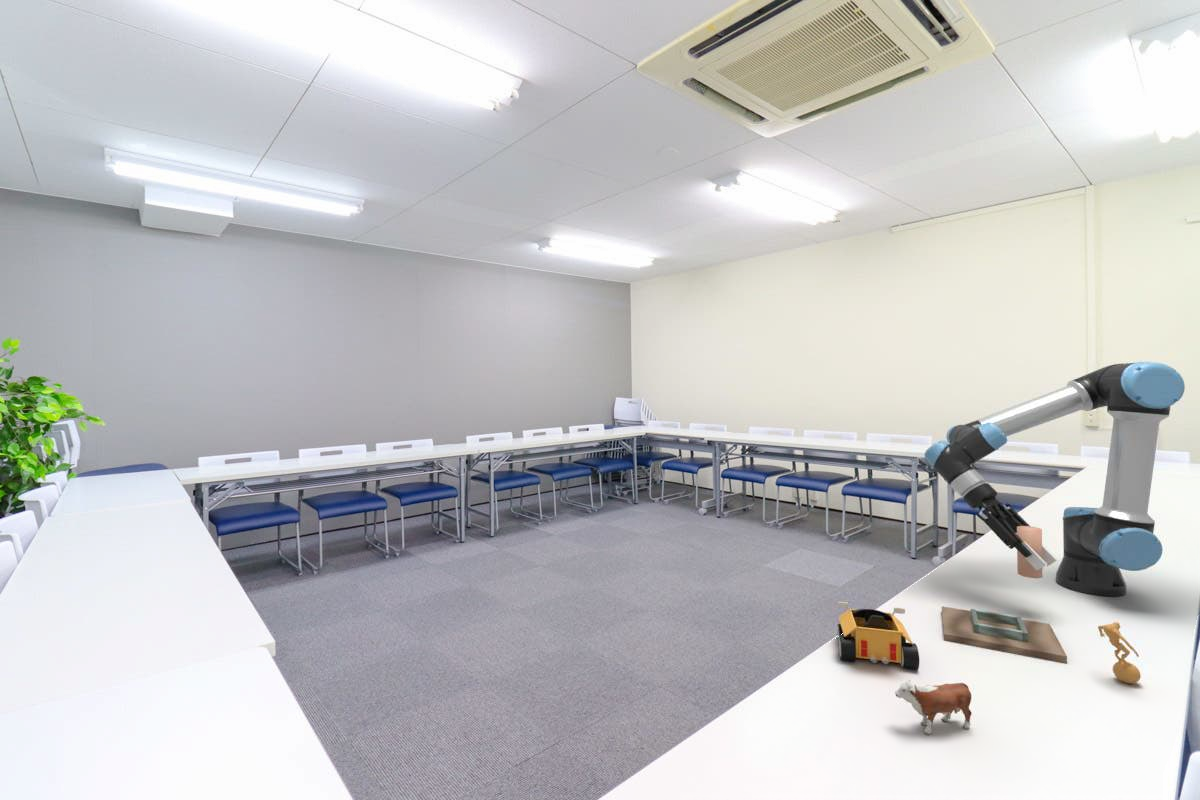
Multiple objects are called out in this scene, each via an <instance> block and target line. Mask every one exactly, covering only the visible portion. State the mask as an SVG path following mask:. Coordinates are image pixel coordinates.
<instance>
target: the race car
mask: <svg viewBox="0 0 1200 800" xmlns="http://www.w3.org/2000/svg"><path fill="white" fill-rule="evenodd" d="M837 607H838V608H841V609H847V610H846V611H845V612H844V613H842V614H841V615H839V616H838V620H839V623H837V640H838V655H839V658H840V660H841V661H847V662H856V659H857V658H859V659H866V660H870V661H871V662H872V663H877V662H878V661H882V663H883V664H885V665H887V664H889V663H891V662H892V663H897V664H898V663H899V664H900V665H901V667H902V669H911V670H919V668H920V654H919V649H918V646H917V644H916V643H914V642H913V641H912V639H911V637H910V635H909V633H908V632H907V629H906V628H905V625H904V624H903V622H901V621H900V620H899V619H898V618H897V617H896V616H895V614H898V615H899V614H900V615H904V614H905V613H906V609H905V608H904V607H893V612H885V611H881V610H878V609H872V608H859V609H856V608H855V609H854V608H853V609H852V608H850V607H849V602H845V601H838V602H837ZM842 633H843V634H842ZM841 634H842V635H841ZM838 636H839V637H838Z"/></svg>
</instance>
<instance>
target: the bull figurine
mask: <svg viewBox="0 0 1200 800" xmlns="http://www.w3.org/2000/svg"><path fill="white" fill-rule="evenodd" d="M894 691H895V692H894V695H895V696H896V698H897V699H904V700H905V702H907V703H909V704H911V706H912V709H914V711H916V712H917V713H918V714H919V715H921V716H922V720H921V722H920V725H922V726H925V729H924V730H923V733H924V735H926V736H930V735H931V733H932V725H933V723H934V720H935V717H936V715H937V714H942V715H943V716H942V717H941V718H940V720H941V721H942V722H946V723H947V722H948V721H949V720H951V719H952V717H951V716H952V713H953V712H954V714H958V712H961V711H962V714H963V715H964V723H963V724H962V726H961V727H962V728H963V729H965V730H969V729H970V726H971V716H972V711H971V709H970V705H971V702H972V693H971V691H970V688H969V686H968V685H967V684H966V683H964V682H956V683H944V684H940V685H938V684H937V685H928V684H927V685H925V684H921V683H920V684H913V683H912V682H911V680H910V679H909V680H906V681H904V682H903V683H901V684H900V686H899V688H898V689H897V690H894Z"/></svg>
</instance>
